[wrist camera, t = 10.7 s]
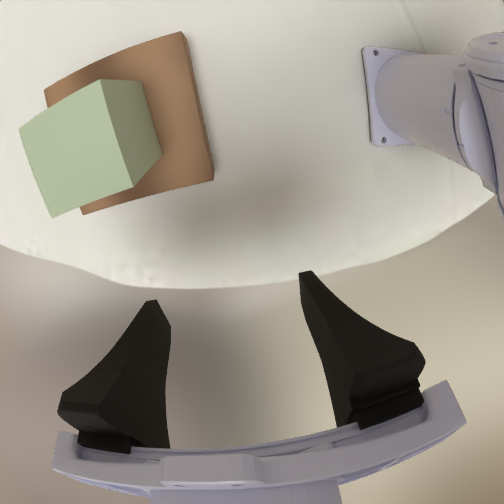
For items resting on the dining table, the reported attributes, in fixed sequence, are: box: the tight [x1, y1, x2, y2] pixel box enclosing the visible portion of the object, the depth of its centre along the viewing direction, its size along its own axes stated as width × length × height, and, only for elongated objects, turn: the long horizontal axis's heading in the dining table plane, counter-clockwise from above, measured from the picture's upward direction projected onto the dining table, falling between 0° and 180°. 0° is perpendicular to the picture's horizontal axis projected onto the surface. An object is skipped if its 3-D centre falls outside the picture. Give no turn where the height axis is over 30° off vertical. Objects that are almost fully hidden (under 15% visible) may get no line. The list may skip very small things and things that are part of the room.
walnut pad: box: [44, 31, 214, 215], centre depth 16 cm, size 10×10×3 cm
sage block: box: [18, 79, 162, 218], centre depth 12 cm, size 5×5×6 cm
